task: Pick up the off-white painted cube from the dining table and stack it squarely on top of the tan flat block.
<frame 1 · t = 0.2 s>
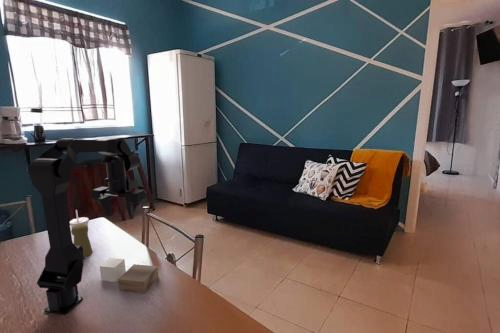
hand: (121, 217, 99), 14 cm above the table, fingers open, 9 cm apart
white cube: (114, 276, 89), on the table
olive drink cup: (83, 254, 103), on the table
tan flat block: (139, 284, 86), on the table
smoothie: (82, 243, 111), on the table
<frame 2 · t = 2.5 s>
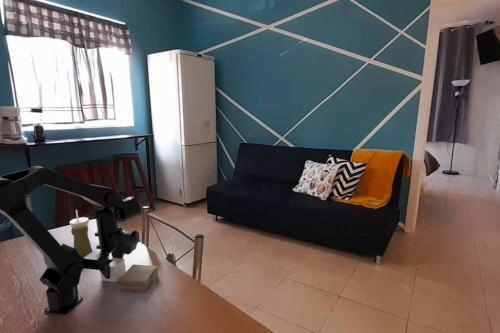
hand: (113, 273, 89), 1 cm above the table, fingers closed on white cube, 5 cm apart
white cube: (113, 276, 89), on the table, touching gripper
everything else where it was.
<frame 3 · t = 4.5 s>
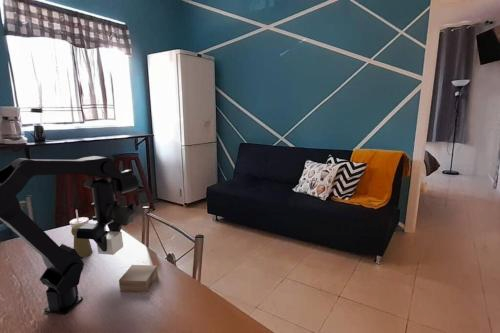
hand: (110, 246, 87), 10 cm above the table, fingers closed on white cube, 5 cm apart
white cube: (111, 250, 87), point 9 cm above the table, touching gripper
everything else where it was.
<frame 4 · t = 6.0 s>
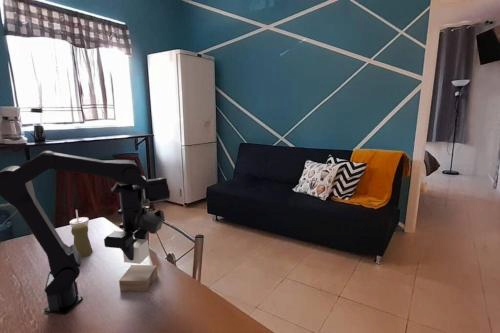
hand: (136, 255, 83), 9 cm above the table, fingers closed on white cube, 5 cm apart
white cube: (136, 258, 84), point 8 cm above the table, touching gripper
everything else where it was.
when the fingers open (6 cm above the table, at t = 6.8 s): white cube drops 2 cm, resting on tan flat block.
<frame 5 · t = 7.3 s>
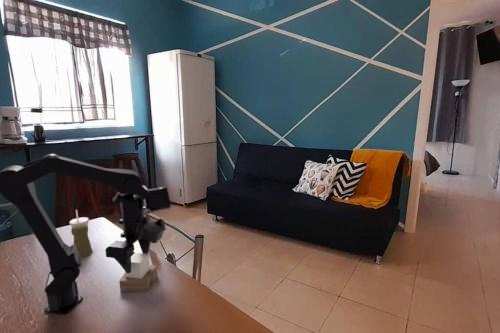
hand: (137, 264, 84), 6 cm above the table, fingers open, 9 cm apart
white cube: (138, 272, 85), point 4 cm above the table, touching tan flat block
tan flat block: (139, 284, 86), on the table, touching white cube
everything else where it was.
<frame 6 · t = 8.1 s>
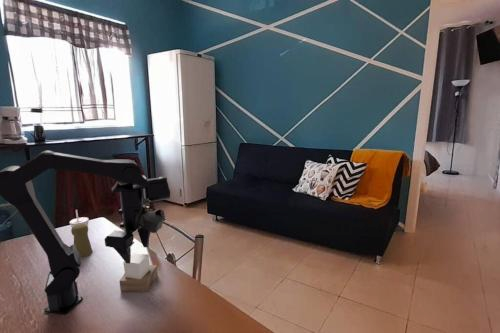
hand: (137, 254, 84), 10 cm above the table, fingers open, 9 cm apart
nothing on the table moved.
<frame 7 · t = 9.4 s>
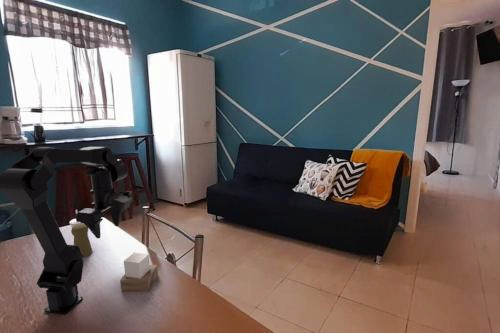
hand: (108, 231, 93), 12 cm above the table, fingers open, 9 cm apart
white cube: (138, 272, 85), point 4 cm above the table
tan flat block: (140, 284, 86), on the table
everything else where it was.
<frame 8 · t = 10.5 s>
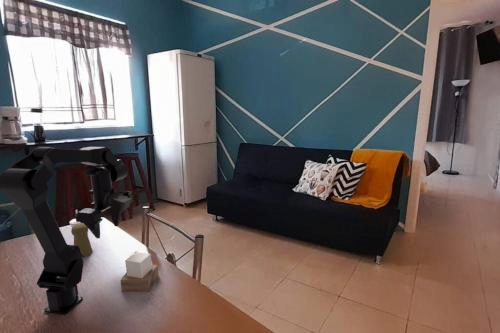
hand: (107, 231, 93), 12 cm above the table, fingers open, 9 cm apart
white cube: (139, 272, 85), point 4 cm above the table, touching tan flat block
tan flat block: (140, 284, 86), on the table, touching white cube
everything else where it was.
at the end: white cube 0.1 cm off-centre on the tan flat block, point 4.0 cm above the tan flat block's base; white cube tilted 0°; the gripper is holding nothing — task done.
